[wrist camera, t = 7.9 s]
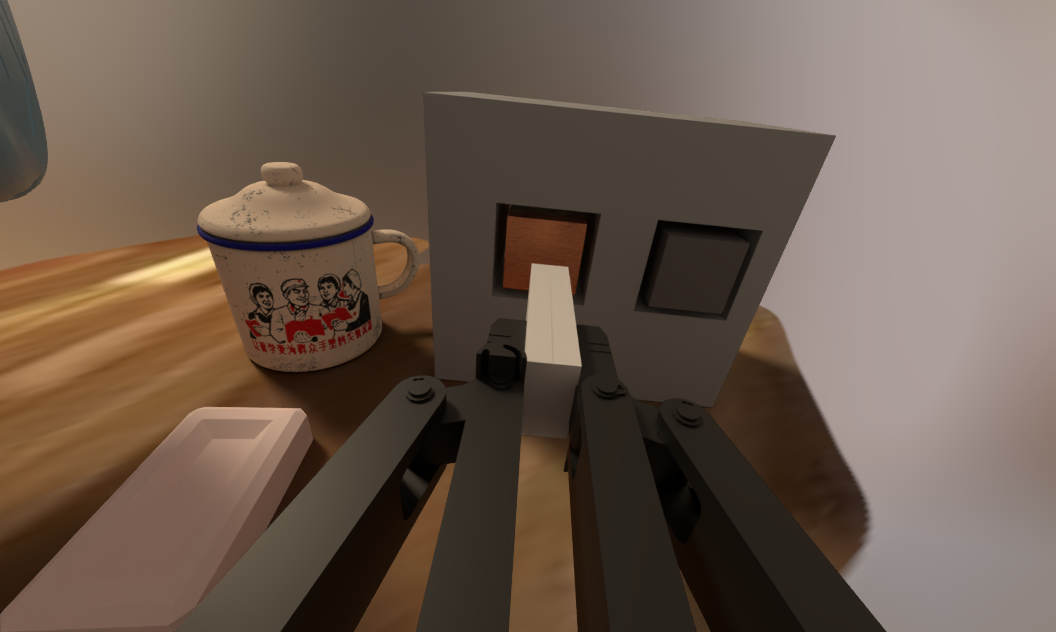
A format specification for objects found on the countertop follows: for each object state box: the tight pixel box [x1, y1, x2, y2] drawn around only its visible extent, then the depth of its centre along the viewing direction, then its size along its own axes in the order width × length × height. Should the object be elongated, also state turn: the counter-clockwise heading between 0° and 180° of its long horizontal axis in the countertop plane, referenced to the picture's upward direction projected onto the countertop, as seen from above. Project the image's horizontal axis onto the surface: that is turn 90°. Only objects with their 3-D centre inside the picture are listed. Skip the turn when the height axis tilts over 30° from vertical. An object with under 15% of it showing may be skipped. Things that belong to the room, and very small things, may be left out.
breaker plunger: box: [503, 204, 587, 295], centre depth 24 cm, size 4×10×4 cm, turn 177°
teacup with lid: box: [197, 162, 419, 372], centre depth 25 cm, size 12×9×12 cm
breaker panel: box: [423, 92, 836, 407], centre depth 25 cm, size 18×10×16 cm, turn 87°
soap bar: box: [0, 407, 313, 632], centre depth 16 cm, size 5×9×2 cm, turn 4°
